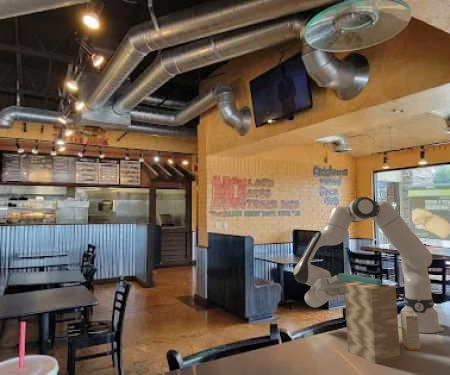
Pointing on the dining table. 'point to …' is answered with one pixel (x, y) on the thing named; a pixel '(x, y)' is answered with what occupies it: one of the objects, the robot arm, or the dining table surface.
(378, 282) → the teal bar
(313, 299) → the robot arm
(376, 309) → the birch post
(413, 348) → the supplement box
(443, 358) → the dining table surface
